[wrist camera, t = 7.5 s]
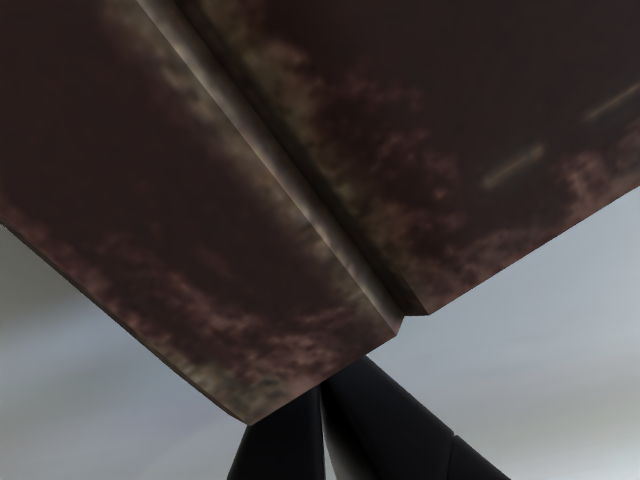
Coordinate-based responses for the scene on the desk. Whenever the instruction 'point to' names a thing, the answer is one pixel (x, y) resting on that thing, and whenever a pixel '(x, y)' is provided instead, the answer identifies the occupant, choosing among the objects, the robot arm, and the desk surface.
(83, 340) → the desk surface
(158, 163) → the diary
